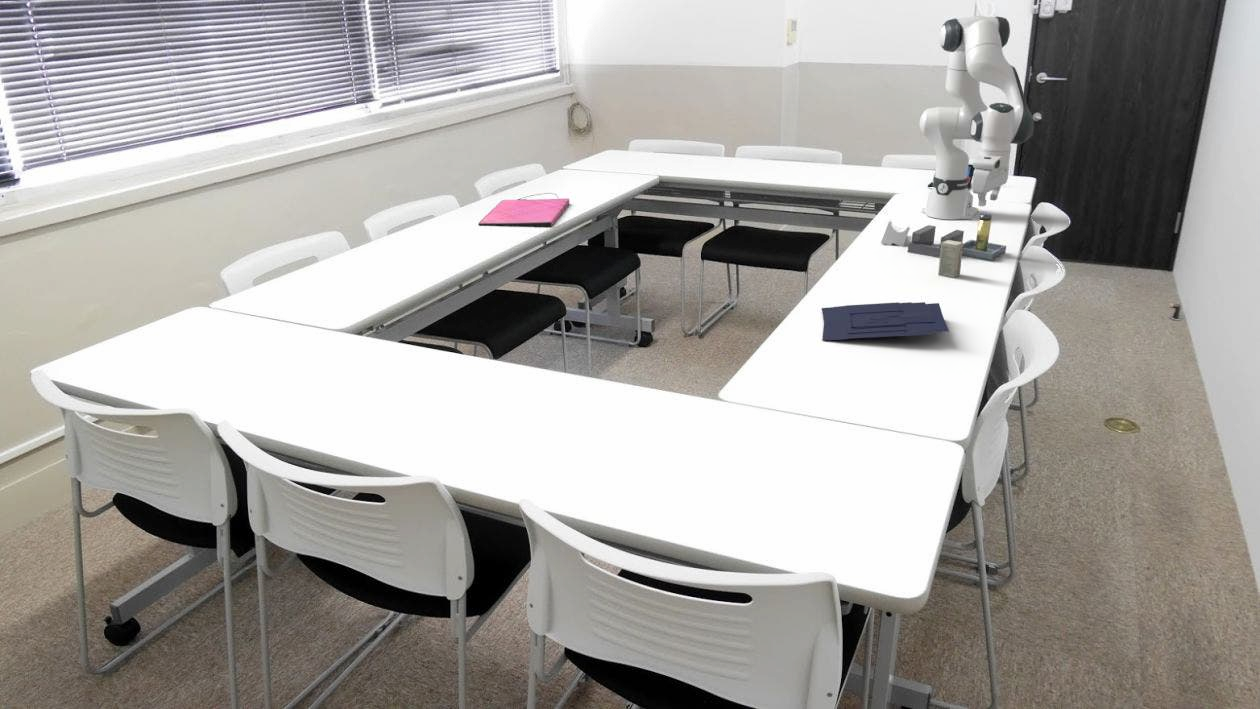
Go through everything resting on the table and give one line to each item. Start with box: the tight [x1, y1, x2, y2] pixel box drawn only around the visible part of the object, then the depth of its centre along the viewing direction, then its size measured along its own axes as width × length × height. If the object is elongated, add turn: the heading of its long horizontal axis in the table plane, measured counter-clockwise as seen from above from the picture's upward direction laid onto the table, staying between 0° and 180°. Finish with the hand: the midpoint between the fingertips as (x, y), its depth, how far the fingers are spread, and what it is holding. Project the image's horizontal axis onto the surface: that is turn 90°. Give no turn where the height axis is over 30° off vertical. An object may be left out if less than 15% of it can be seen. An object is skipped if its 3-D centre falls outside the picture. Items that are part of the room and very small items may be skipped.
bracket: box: [880, 219, 911, 247], centre depth 308 cm, size 13×7×8 cm, turn 165°
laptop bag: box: [478, 192, 570, 228], centre depth 349 cm, size 40×4×27 cm
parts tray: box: [962, 239, 1007, 262], centre depth 293 cm, size 12×12×2 cm
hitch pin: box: [975, 212, 993, 252], centre depth 291 cm, size 4×4×12 cm
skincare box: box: [937, 240, 964, 278], centre depth 272 cm, size 5×4×10 cm
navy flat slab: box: [821, 301, 950, 341], centre depth 234 cm, size 24×30×4 cm
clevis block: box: [907, 224, 965, 259], centre depth 296 cm, size 14×12×6 cm
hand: (987, 202), depth 287 cm, fingers open, 8 cm apart
